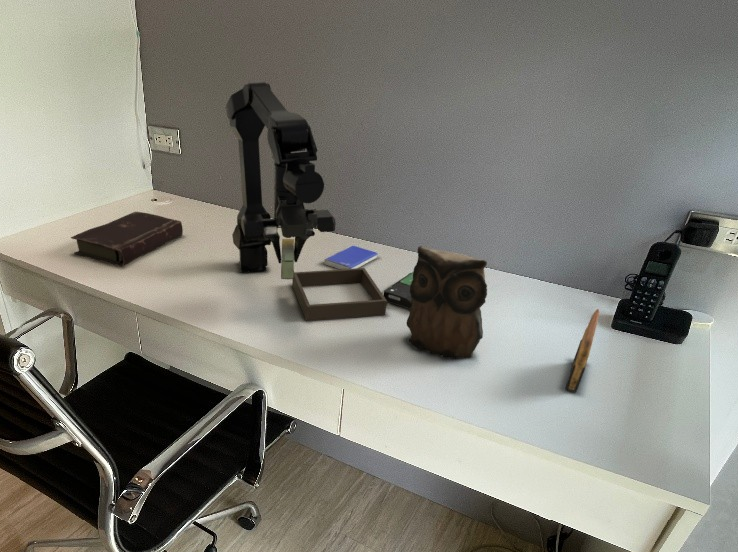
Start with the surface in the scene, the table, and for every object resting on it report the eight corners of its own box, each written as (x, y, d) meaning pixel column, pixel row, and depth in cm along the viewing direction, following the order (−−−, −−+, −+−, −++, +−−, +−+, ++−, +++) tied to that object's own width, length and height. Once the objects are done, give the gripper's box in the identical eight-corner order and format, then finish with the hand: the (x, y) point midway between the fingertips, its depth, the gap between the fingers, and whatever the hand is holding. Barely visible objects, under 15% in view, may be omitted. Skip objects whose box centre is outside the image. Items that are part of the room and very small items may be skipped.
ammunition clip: (573, 361, 109) (593, 305, 102) (583, 364, 108) (604, 308, 101) (564, 389, 101) (585, 331, 95) (576, 392, 101) (598, 334, 94)
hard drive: (350, 267, 142) (377, 252, 149) (324, 258, 146) (352, 244, 154) (350, 272, 143) (377, 258, 150) (324, 264, 147) (351, 250, 155)
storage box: (306, 321, 122) (307, 306, 120) (292, 285, 137) (292, 272, 135) (385, 315, 124) (387, 300, 122) (363, 281, 139) (364, 267, 137)
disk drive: (423, 315, 125) (452, 290, 134) (425, 303, 123) (454, 280, 132) (381, 301, 130) (412, 279, 139) (383, 290, 128) (413, 268, 138)
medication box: (294, 279, 117) (294, 261, 114) (280, 279, 117) (280, 261, 114) (293, 255, 126) (293, 237, 124) (281, 255, 126) (281, 237, 124)
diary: (184, 237, 163) (182, 220, 160) (124, 268, 145) (121, 249, 142) (134, 226, 170) (132, 209, 168) (72, 254, 153) (68, 236, 150)
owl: (479, 360, 109) (503, 263, 98) (415, 364, 108) (431, 266, 97) (456, 328, 120) (475, 236, 108) (397, 331, 119) (410, 239, 107)
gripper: (247, 203, 104) (249, 281, 113) (345, 198, 107) (339, 274, 116) (239, 185, 113) (242, 259, 122) (330, 181, 116) (326, 253, 125)
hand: (287, 262), depth 121 cm, fingers closed on medication box, 3 cm apart
